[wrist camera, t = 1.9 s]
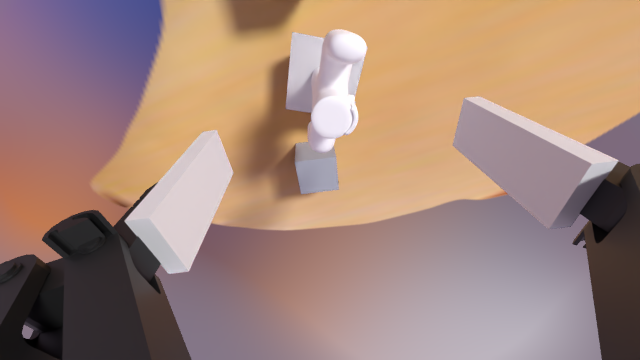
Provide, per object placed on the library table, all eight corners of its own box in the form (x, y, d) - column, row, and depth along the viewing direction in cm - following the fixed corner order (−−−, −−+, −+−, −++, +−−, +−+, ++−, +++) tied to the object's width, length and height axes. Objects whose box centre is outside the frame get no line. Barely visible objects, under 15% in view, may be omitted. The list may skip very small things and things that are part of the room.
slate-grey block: (295, 143, 32) (294, 161, 28) (332, 138, 32) (336, 156, 28) (301, 173, 35) (301, 194, 31) (334, 169, 35) (338, 189, 31)
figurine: (286, 108, 29) (273, 175, 17) (294, 17, 24) (284, 19, 12) (342, 116, 30) (368, 186, 18) (362, 31, 25) (419, 47, 13)
